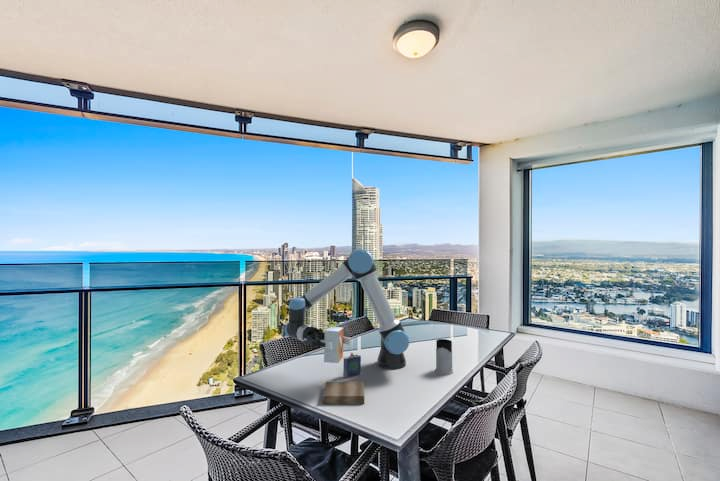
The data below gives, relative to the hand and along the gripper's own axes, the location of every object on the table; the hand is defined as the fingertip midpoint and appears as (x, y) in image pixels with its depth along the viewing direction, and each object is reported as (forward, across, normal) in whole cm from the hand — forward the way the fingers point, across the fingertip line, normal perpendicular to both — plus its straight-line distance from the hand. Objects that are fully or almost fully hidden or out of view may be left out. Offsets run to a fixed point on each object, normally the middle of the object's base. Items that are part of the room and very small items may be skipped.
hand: (341, 343), depth 128 cm
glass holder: (+17, -57, -20) cm, 63 cm away
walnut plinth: (+2, 0, -21) cm, 21 cm away
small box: (-4, 0, -8) cm, 9 cm away
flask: (-11, -18, -21) cm, 30 cm away
